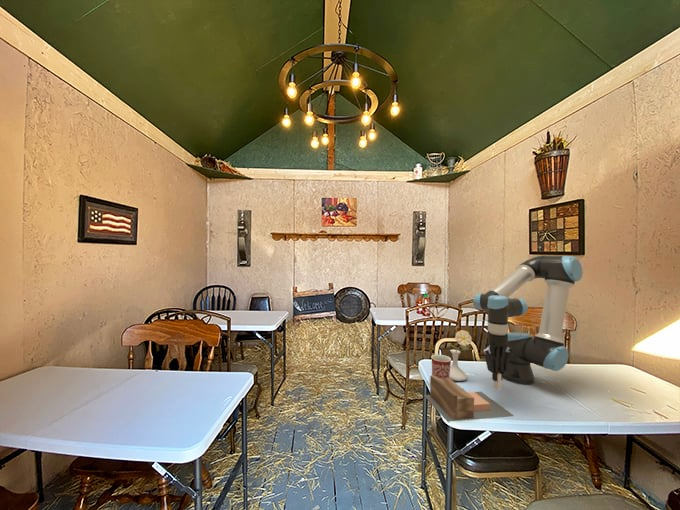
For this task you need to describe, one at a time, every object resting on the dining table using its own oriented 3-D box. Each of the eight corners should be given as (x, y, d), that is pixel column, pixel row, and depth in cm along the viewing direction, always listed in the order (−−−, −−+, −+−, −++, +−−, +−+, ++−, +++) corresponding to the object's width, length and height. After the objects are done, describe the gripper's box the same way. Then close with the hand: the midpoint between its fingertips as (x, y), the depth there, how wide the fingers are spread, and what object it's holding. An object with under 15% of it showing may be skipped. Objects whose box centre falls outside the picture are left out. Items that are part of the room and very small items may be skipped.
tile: (474, 397, 126) (474, 391, 126) (489, 410, 116) (489, 403, 116) (444, 399, 123) (444, 393, 123) (457, 412, 114) (458, 406, 114)
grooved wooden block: (448, 394, 128) (448, 374, 128) (473, 417, 110) (474, 394, 110) (430, 395, 127) (430, 375, 126) (452, 419, 109) (453, 395, 109)
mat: (481, 392, 132) (481, 391, 132) (514, 417, 112) (514, 416, 112) (423, 396, 127) (423, 395, 127) (448, 422, 107) (448, 421, 107)
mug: (453, 391, 132) (453, 361, 132) (432, 389, 133) (433, 360, 133) (445, 379, 145) (446, 352, 145) (427, 378, 146) (428, 351, 146)
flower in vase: (442, 380, 143) (443, 330, 143) (443, 372, 154) (444, 325, 154) (471, 385, 138) (472, 333, 138) (470, 376, 149) (471, 328, 149)
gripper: (504, 329, 127) (504, 382, 127) (477, 331, 124) (477, 385, 125) (518, 334, 119) (517, 390, 120) (489, 336, 117) (489, 393, 118)
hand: (497, 387), depth 122 cm, fingers closed
